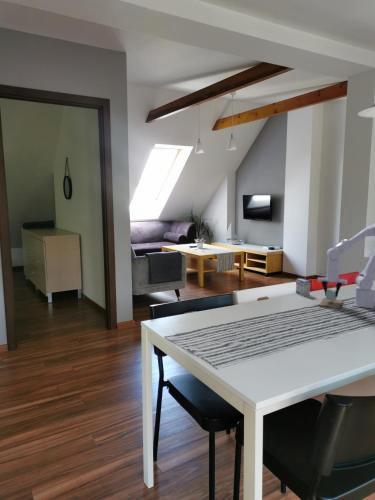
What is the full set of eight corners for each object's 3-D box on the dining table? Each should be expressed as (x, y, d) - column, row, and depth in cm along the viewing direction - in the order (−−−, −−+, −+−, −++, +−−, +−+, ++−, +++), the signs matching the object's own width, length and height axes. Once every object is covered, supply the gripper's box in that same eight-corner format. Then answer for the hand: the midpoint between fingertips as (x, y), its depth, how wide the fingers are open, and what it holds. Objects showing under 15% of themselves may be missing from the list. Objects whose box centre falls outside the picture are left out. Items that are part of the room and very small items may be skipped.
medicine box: (295, 292, 226) (296, 278, 225) (302, 292, 227) (302, 278, 226) (303, 296, 219) (303, 281, 217) (309, 295, 220) (310, 281, 219)
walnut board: (342, 302, 205) (342, 300, 205) (339, 308, 193) (339, 306, 193) (323, 300, 210) (323, 298, 210) (319, 306, 198) (319, 304, 198)
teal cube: (336, 298, 202) (336, 290, 201) (334, 300, 198) (335, 292, 197) (327, 297, 204) (327, 289, 203) (325, 299, 200) (326, 291, 200)
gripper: (348, 270, 199) (346, 295, 201) (319, 268, 206) (318, 292, 208) (346, 273, 193) (345, 298, 195) (317, 270, 200) (316, 295, 202)
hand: (331, 295), depth 201 cm, fingers closed on teal cube, 5 cm apart
